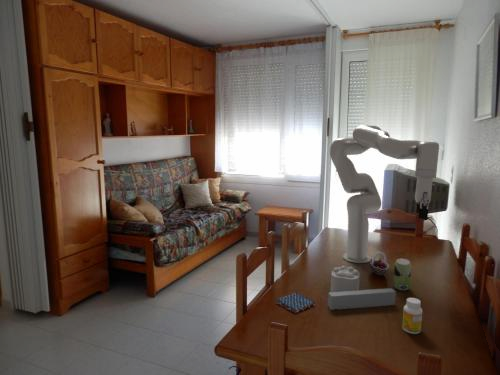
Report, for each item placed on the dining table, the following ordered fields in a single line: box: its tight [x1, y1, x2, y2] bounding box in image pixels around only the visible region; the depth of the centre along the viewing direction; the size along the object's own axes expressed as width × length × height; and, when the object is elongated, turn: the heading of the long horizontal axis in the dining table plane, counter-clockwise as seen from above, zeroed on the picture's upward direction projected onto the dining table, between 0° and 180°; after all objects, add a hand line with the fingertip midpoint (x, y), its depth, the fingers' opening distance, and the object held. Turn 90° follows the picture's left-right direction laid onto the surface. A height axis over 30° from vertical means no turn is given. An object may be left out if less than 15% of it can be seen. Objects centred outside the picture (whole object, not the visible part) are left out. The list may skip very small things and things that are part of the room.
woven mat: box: [276, 292, 316, 313], centre depth 131 cm, size 10×11×2 cm
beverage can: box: [393, 258, 412, 292], centre depth 143 cm, size 6×7×12 cm
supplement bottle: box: [401, 297, 423, 335], centre depth 114 cm, size 5×5×10 cm
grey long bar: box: [327, 287, 397, 311], centre depth 130 cm, size 3×24×5 cm, turn 100°
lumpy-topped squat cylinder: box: [330, 265, 361, 292], centre depth 143 cm, size 10×13×9 cm
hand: (421, 215), depth 147 cm, fingers open, 9 cm apart
